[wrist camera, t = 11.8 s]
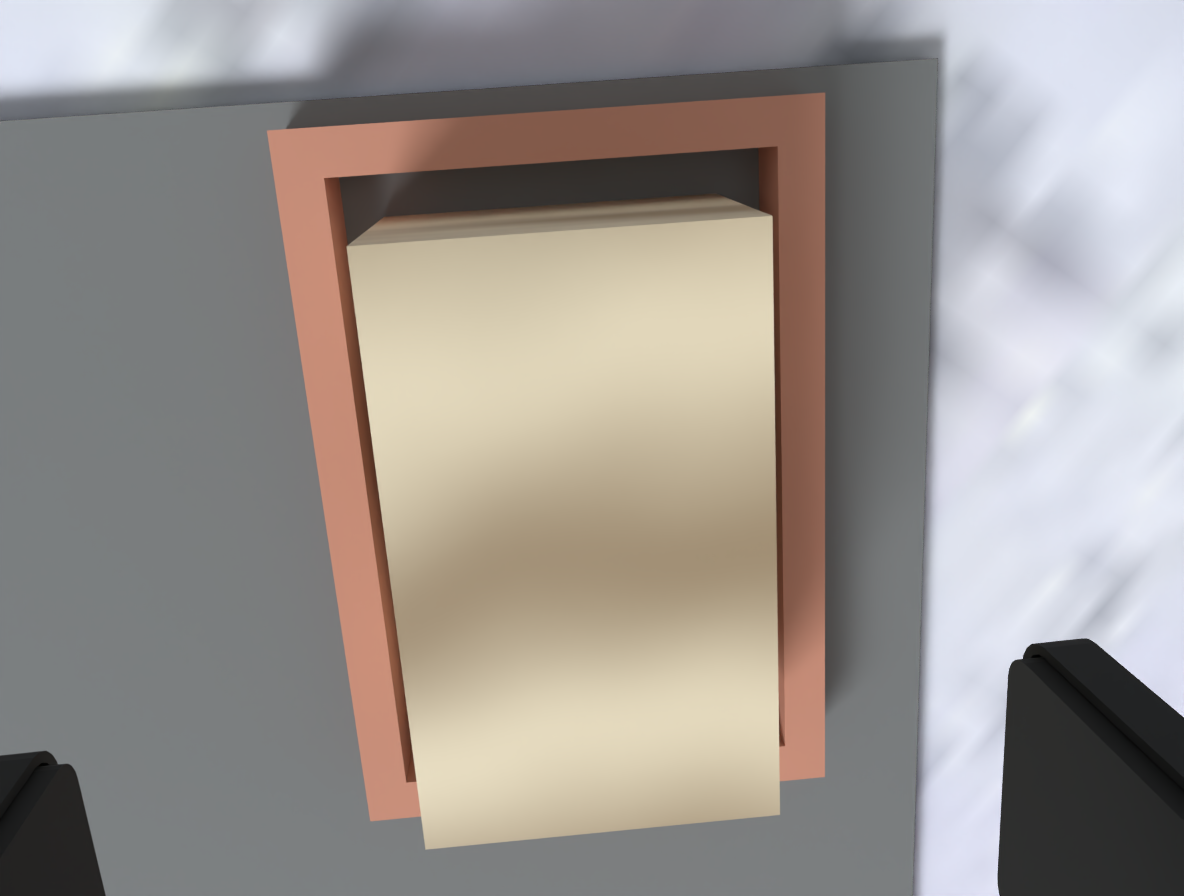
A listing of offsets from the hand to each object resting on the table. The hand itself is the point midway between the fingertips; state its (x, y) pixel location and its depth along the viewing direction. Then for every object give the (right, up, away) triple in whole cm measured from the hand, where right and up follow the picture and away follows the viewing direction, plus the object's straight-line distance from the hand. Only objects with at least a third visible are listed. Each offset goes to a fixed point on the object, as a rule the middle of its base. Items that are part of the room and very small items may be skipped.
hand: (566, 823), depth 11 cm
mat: (-5, 0, +11) cm, 12 cm away
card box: (0, +3, +10) cm, 11 cm away
